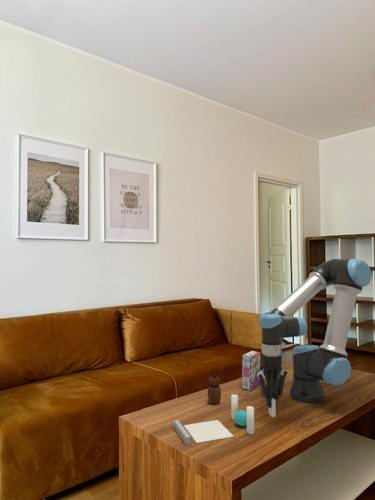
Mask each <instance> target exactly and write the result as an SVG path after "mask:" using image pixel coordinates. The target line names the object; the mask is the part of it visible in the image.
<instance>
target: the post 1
mask: <svg viewBox="0 0 375 500" xmlns="http://www.w3.org/2000/svg"><path fill="white" fill-rule="evenodd" d="M230 397H231V398H230V401H231V402H230V404H231V405H230V406H231V408H230V409H231V411H230V412H231V415H230V416H231V418H230V419H231V420H233V421H235V415H236V413H237V412H238V411H239V395H238V394H237V393H235V394H233V393H232V394H231V396H230Z"/></svg>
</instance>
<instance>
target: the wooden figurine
mask: <svg viewBox="0 0 375 500" xmlns="http://www.w3.org/2000/svg"><path fill="white" fill-rule="evenodd" d="M211 368H212V369H211V376H210V377H209V379H208V384H209V386H208V388H207V399H208V402H209V403H210V404H211V405H217V404H219V403H220V402H221V398H222V397H221V396H222V389H221V387H220V381H221V380H220V378H219V376H217V374H216V371H215V369H214V366H212V367H211Z"/></svg>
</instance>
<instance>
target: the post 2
mask: <svg viewBox="0 0 375 500" xmlns="http://www.w3.org/2000/svg"><path fill="white" fill-rule="evenodd" d="M246 412H247V425H246V434H248V435H254V434H255V407H254V406H252V405H248V406H246Z"/></svg>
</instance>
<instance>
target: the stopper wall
mask: <svg viewBox="0 0 375 500" xmlns="http://www.w3.org/2000/svg"><path fill="white" fill-rule="evenodd" d="M173 428H174V430H175V431H176V433H177V434H178V435H179V437H180V439H181V440H182V441H183V443H184V444H185V445H186V446H190V445H191V442H192V440H191V439H192V436H191V435H190V434H189V432H188V431H187V430H186V428H185V427H184V425H183V424H182V423H181V422H180V421H179V419H177V420H175V419H174V420H173Z"/></svg>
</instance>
